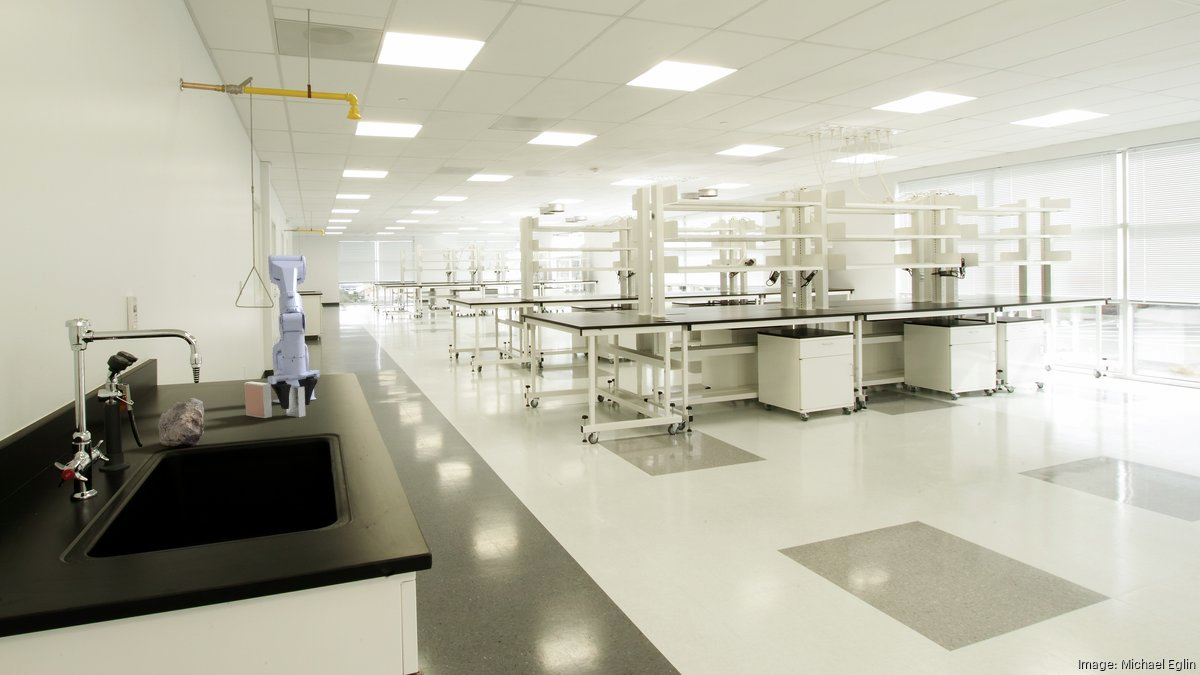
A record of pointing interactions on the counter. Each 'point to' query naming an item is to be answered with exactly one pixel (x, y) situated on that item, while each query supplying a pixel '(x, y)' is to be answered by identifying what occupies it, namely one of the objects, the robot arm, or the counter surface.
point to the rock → (182, 423)
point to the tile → (258, 399)
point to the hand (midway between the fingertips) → (295, 406)
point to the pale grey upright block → (296, 401)
